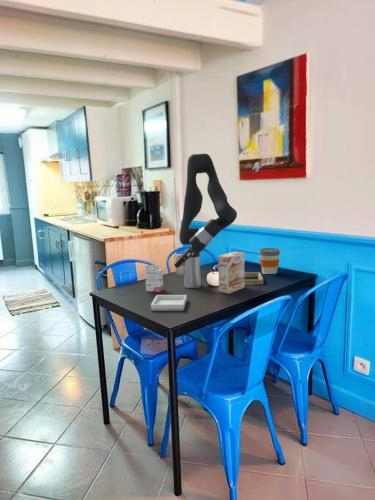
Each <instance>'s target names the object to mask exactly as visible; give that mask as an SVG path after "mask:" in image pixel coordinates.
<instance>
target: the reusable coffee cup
mask: <svg viewBox="0 0 375 500" xmlns="http://www.w3.org/2000/svg"><path fill="white" fill-rule="evenodd" d="M258 255H259V264H260V267H261V274H262V273H263V275H264V274H275V275H277V274H276V273H278V267H279V265H280V255H281V253H280V249H279V248H275V247H274V248H273V247H265V248H261V249H259V254H258Z"/></svg>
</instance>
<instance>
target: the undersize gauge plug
mask: <svg viewBox="0 0 375 500" xmlns="http://www.w3.org/2000/svg"><path fill="white" fill-rule="evenodd" d="M182 254H183V253H178V254H175V263H176V262H177V261H178V260H179V259H180V258H181V257H182ZM183 259H184V260H185V258H184V257H183ZM185 274H186V270H185V263H182V264H181V265H180V266H179V267H178V268H176V267H175V275H177V276H184V275H185Z"/></svg>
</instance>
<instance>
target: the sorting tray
mask: <svg viewBox="0 0 375 500" xmlns="http://www.w3.org/2000/svg"><path fill="white" fill-rule="evenodd" d="M187 296H188V295H187V294H156V296H155V297H154V298H153V300H152V302H151V303H150V311H151V312H172V311H173V312H184V311H185V308H186V306H187V305H186V304H187V302H188V298H187Z"/></svg>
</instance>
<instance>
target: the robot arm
mask: <svg viewBox="0 0 375 500" xmlns="http://www.w3.org/2000/svg"><path fill="white" fill-rule="evenodd" d="M197 174H206V175H207V177H208V181H207V189H206V190H207V191H206V192H207V194H208V196H209V198H210V200H211V202H212V204H213V208H214V210H215V213H216V215H217V216H218V217H217V218H216V219H213V218H212V219H209V220H208V221H207V222H206V223H205V224H204V225H203V227H201V228H200V229H199V228H198V227H196V226H194V227H193V226H191V224H192V222H193V221H194V220H195V218H196V217H198V214H199V213H200V212H201V211H202V205H203V201H204V200H203V198H204V197H203V193H202V191H201V189H200V188H199V186H198V183H197ZM219 180H220V179H219V177H218V175H217V171H216V168H215V165H214V162H213V159H212V158H211V155H210V154H207V153H193V154H190V155H189V157H188V159H187V165H186V187H185V189H186V190H185V196H184V200H183V203H184V204H183V212H182V213H183V214H182V221H181V225H180V229H179V236H178V237H179V243H180V244H181V245H184V246H186V245H188V246H187V248H186V249H185V250H184V251H182V253H181V254H182V257H181V258H180V259H179V260H178V261H177V262H176V261H175V264H173V265H174V267H175V269H176V268H178V267H179V266H180V265H181V264H182V263H185V270H186V274H185V275H183V283H184V285H183V286H184V288H187V289H197V288H201V283H202V282H201V259H200V255H201V253H202V251H203V250H204V249H205V248H207V247H208V245H209V244H210V243H211V242H213V239H214V238H216V237H217V235H218V234H219V233H220V232H221V231H223V230H225V229H226V228H227V227H229V226H231V225H232V224H233V223H234V222H235V221H236V219H237V217H238V214H237V213H238V212H237V210H236V209H235V208H233V206H231V204H230V203H229V202H228V197H227V194H226V192H225V190H224V189H223V186H222V184H221V183H220V181H219ZM190 226H191V227H190ZM189 245H190V246H189ZM183 257H184V258H185V260H184V259H183Z"/></svg>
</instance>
